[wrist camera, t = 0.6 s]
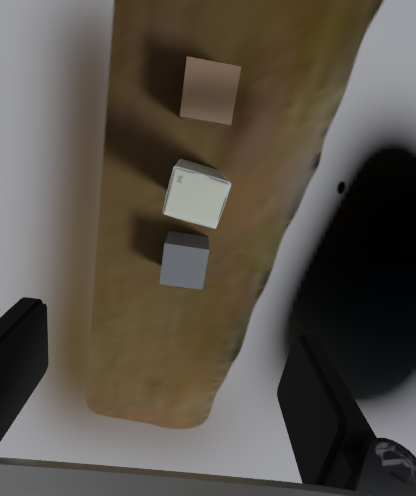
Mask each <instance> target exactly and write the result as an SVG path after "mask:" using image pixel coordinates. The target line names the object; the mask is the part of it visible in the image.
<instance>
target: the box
mask: <svg viewBox="0 0 416 496" xmlns="http://www.w3.org/2000/svg"><path fill="white" fill-rule="evenodd" d="M230 187H231V183H230V182H229V181H228V180H227V179H226V178H225V177H224V175H223V174H222V173H221V172H220V171H219V170H216V169H213V168H211V167H208V166H204V165H201V164H198V163H194V162H191V161H187V160H184V159H179V160H178V162H177V163H176V164H175V166H174V167H173V171H172V174H171V178H170V182H169V186H168V190H167V194H166V198H165V203H164V208H163V214H165V215H168V216H171V217H174V218H177V219H181V220H184V221H188V222H191V223H195V224H199V225H202V226H206V227H210V228H214V229H215V228H216V227H217V225H218V222H219V219H220V216H221V214H222V211H223V208H224V205H225V202H226V199H227V196H228V193H229V190H230Z"/></svg>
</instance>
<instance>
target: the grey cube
mask: <svg viewBox="0 0 416 496" xmlns="http://www.w3.org/2000/svg"><path fill="white" fill-rule="evenodd" d="M208 255H209V239H208V237H207V236H200V235H193V234H187V233H180V232H173V231H169V232H168V235H167V238H166V240H165V243H164V251H163V259H162V268H161V276H160V284H163V285H171V286H178V287H186V288H193V289H200V290H202V289H203V284H204V278H205V272H206V266H207V261H208Z"/></svg>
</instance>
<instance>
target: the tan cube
mask: <svg viewBox="0 0 416 496" xmlns="http://www.w3.org/2000/svg"><path fill="white" fill-rule="evenodd" d="M240 71H241V67H240V66H234V65H229V64H224V63H219V62H214V61H209V60H204V59H198V58H193V57H188V56H187V60H186V68H185V77H184V85H183V93H182V102H181V110H180V117H181V118H182V120H187V121H193V122H199V123H204V124H210V125H216V126H221V127H229V126H230V125H231V123H232V117H233V111H234V105H235V100H236V94H237V88H238V82H239V77H240Z"/></svg>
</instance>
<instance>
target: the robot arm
mask: <svg viewBox="0 0 416 496" xmlns="http://www.w3.org/2000/svg"><path fill="white" fill-rule="evenodd" d="M47 367H48V331H47V306H46V304H43V303H42V300H40V299H34V298H26V297H24V298H22V299H20V300H19V301H18V302H17V303H16V304H15V305H14V306H13V307H12V308H10V309H9V310H8V311H7V312H6V313H5V314H4V315H3V316H2V317H1V318H0V441H1V440H2V438H3V437H4V435H5V434H6V432H7V431H8V429H9V428H10V426H11V425H12V423H13V422H14V420H15V418H16V417H17V415H18V414H19V412H20V411H21V409H22V408H23V406H24V404H25V403H26V402H27V400H28V398H29V397H30V395H31V394H32V392H33V391H34V389H35V388H36V386H37V385H38V383H39V382H40V380H41V379H42V377H43V375H44V374H45V372H46V370H47ZM277 397H278V401H279V404H280V408H281V411H282V415H283V418H284V421H285V425H286V428H287V432H288V435H289V438H290V442H291V445H292V449H293V452H294V455H295V459H296V462H297V466H298V469H299V473H300V476H301V479H302V483H303V484H301V483H292V482H283V481H273V480H262V479H252V478H241V477H230V476H219V475H209V474H197V473H185V472H175V471H163V470H152V469H140V468H128V467H116V466H105V465H92V464H79V463H67V462H55V461H54V462H53V461H41V460H30V459H16V458H0V496H416V457H415V456H414V455H413V454H412V453H411V452H410V451H409V450H408V449H406V448H405V447H404V446H402V445H401V444H399V443H397V442H395V441H393V440H390V439H387V438H377V437H376V436H375V434H374V432H373V431H372V429H371V427H370V425H369V424H368V422H367V420H366V419H365V417H364V415H363V413H362V412H361V410H360V408H359V407H358V405H357V403H356V401H355V400H354V398H353V396H352V395H351V393H350V391H349V389H348V388H347V386H346V384H345V383H344V381H343V379H342V377H341V376H340V374H339V373H338V371H337V369H336V367H335V366H334V364H333V362H332V360H331V359H330V357H329V355H328V354H327V352H326V350H325V348H324V347H323V345H322V343H321V342H320V340H319V338H318V337H317V335H315V334H309V333H300V334H299V336H295V337H294V339H293V342H292V345H291V349H290V352H289V355H288V358H287V361H286V364H285V368H284V371H283V374H282V377H281V380H280V383H279V386H278V391H277Z"/></svg>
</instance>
